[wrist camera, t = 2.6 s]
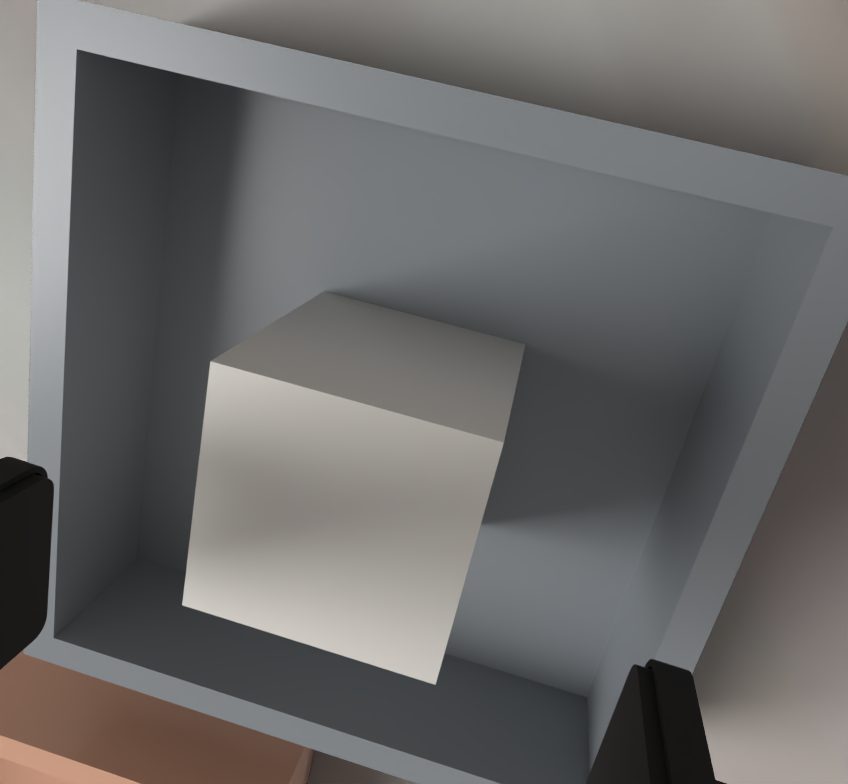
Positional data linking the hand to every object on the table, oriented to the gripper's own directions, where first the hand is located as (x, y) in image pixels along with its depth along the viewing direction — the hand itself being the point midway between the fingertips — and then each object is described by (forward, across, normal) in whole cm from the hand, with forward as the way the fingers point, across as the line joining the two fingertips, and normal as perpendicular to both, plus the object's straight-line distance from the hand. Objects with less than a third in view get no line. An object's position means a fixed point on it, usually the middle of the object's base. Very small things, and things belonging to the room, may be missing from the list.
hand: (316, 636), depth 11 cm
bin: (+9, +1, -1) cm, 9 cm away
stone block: (+8, +1, -1) cm, 8 cm away
